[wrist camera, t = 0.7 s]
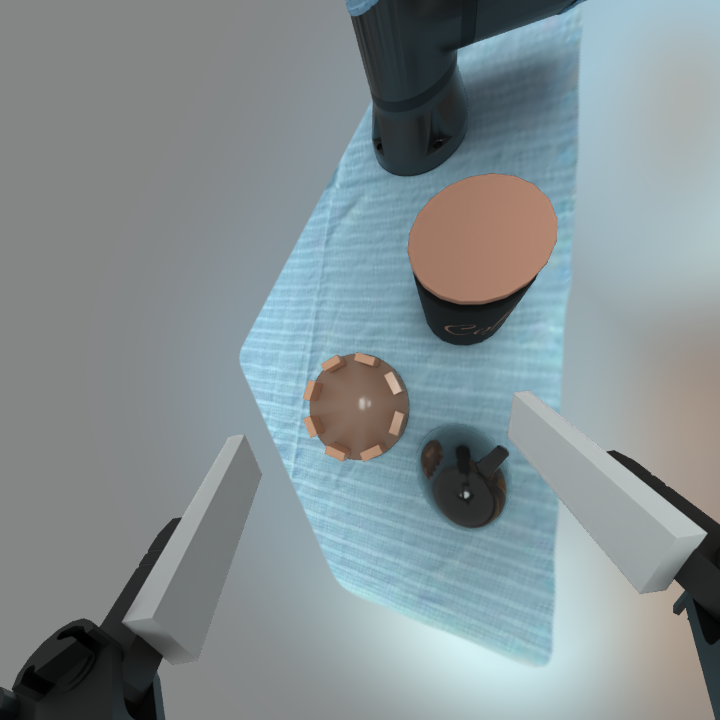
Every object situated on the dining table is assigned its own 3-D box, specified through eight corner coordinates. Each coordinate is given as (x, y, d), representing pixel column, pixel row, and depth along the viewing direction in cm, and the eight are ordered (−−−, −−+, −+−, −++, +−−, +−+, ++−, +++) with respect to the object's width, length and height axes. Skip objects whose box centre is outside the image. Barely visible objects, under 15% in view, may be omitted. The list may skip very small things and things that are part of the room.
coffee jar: (442, 358, 37) (437, 325, 20) (414, 295, 39) (388, 218, 22) (520, 327, 34) (590, 258, 17) (484, 262, 37) (515, 146, 20)
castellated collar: (329, 343, 43) (320, 339, 40) (422, 370, 37) (420, 368, 34) (299, 435, 42) (288, 438, 39) (390, 476, 37) (384, 484, 34)
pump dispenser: (520, 455, 32) (578, 501, 18) (470, 518, 33) (486, 611, 19) (449, 404, 35) (450, 408, 21) (405, 463, 36) (378, 505, 22)
